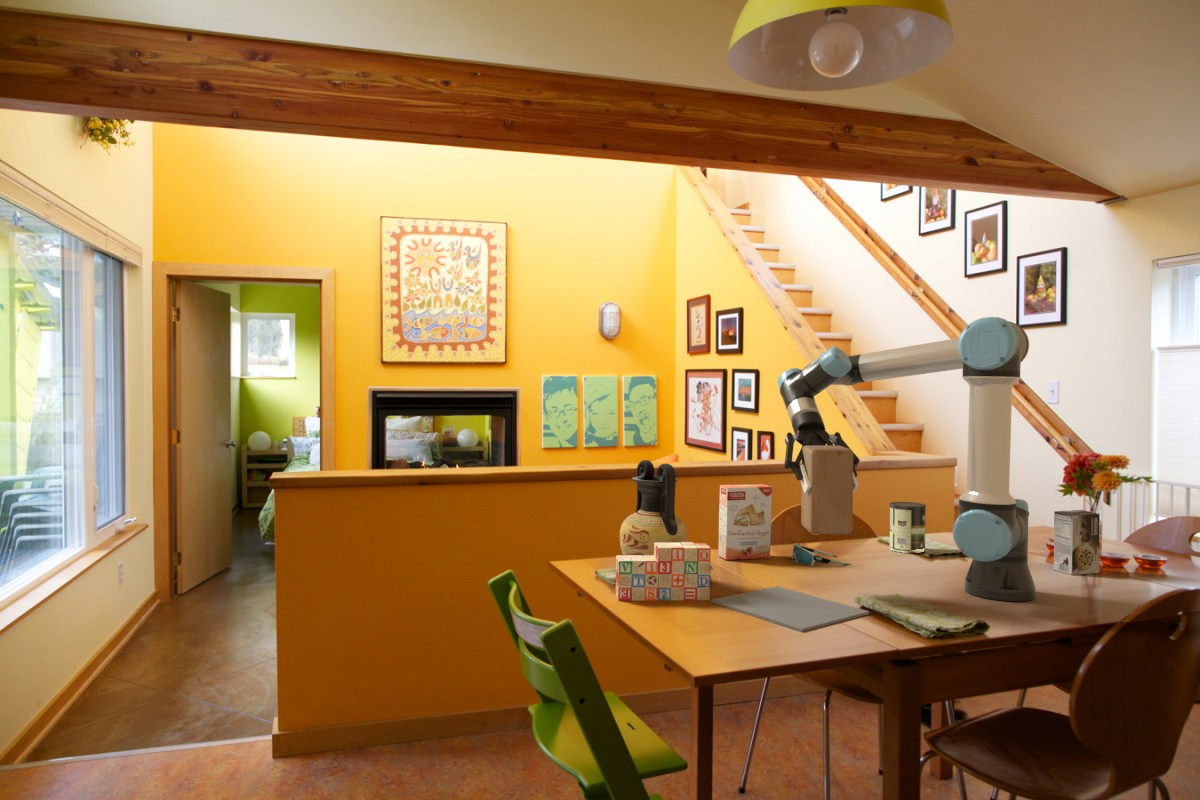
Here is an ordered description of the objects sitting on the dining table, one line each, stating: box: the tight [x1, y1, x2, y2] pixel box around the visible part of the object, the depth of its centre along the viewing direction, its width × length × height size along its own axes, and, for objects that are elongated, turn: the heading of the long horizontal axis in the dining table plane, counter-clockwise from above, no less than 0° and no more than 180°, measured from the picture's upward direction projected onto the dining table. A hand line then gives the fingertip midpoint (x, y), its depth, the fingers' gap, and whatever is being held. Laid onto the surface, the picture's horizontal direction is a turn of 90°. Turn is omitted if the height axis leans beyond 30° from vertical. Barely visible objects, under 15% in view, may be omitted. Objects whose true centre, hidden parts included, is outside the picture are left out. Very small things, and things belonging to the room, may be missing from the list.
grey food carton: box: [1053, 509, 1101, 576], centre depth 211 cm, size 9×6×16 cm
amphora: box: [619, 459, 688, 556], centre depth 197 cm, size 18×17×30 cm
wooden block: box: [800, 445, 854, 535], centre depth 187 cm, size 10×10×20 cm
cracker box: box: [717, 483, 773, 561], centre depth 225 cm, size 14×6×21 cm, turn 105°
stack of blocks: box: [615, 541, 712, 602], centre depth 182 cm, size 21×6×12 cm, turn 94°
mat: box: [710, 585, 870, 633], centre depth 173 cm, size 26×22×1 cm
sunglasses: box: [791, 542, 851, 567], centre depth 222 cm, size 14×15×5 cm
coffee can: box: [888, 501, 927, 554], centre depth 237 cm, size 10×10×14 cm
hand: (831, 489), depth 184 cm, fingers closed on wooden block, 11 cm apart
